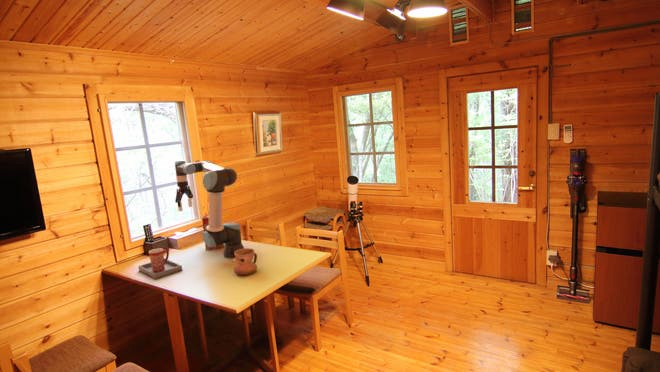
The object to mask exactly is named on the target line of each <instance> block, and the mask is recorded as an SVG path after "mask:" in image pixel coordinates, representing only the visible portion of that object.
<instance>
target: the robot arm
mask: <svg viewBox="0 0 660 372" xmlns="http://www.w3.org/2000/svg"><path fill="white" fill-rule="evenodd" d="M174 168H175V169H174V170H175V175H176V184H177V187H178V188H176V193H175V194H176V195H175V203H177V207H178V208H177V209H178V212H183V203H182V199H183V195H186V197H187V202H188V203H187V205H188V208H193V201H192V199H193V198H194V195H193V192H192V190H191V187H190V185H189V182H188V175H193V174H197V173H204V174H203V178H202V186H203V187H204V189H205V190H206V192H207V193H208V215H209V225H208V226H207V227H206V231H205V232H204V231H203V233H202V240H203V242H204V245H205V244H206V245H207V246H208V247H216V246H218V245H221V244H224V248H223V257H224V258H226V259H236V258H235V255H234V252H235V251H237V250H239V249H244V247H245V246H244V245H243V242H242V233H241V231H242V230H241V225H240V224H239V223H236V222H224V223H222V222H223V219H222V218H223V193H225V190H226V187H229V186H232V185H234V184H235V183H236V182H237V180H238V173H237V171H236V170H235V169H234V168H232V167H223V166H219V165H216V164H214V163H212V161H210V160H204V161H197V162H189V163H187V162H186V160H185V159H179V160H178V159H177V160H175V161H174Z"/></svg>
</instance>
